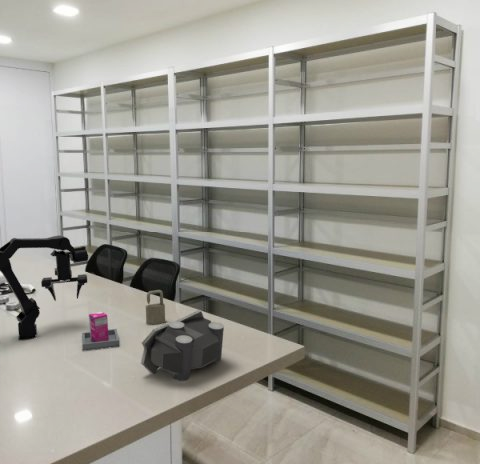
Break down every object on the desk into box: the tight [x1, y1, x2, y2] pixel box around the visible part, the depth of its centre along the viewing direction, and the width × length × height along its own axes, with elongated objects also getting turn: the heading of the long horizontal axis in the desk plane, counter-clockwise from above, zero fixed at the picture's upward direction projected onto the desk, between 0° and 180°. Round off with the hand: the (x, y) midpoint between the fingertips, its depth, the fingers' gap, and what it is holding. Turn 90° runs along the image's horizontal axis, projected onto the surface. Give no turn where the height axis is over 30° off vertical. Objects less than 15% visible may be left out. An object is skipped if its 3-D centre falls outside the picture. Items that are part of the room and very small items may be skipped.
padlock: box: [145, 289, 166, 326], centre depth 228 cm, size 4×8×15 cm, turn 116°
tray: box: [81, 328, 120, 351], centre depth 206 cm, size 14×14×3 cm
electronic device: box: [140, 309, 225, 382], centre depth 180 cm, size 18×21×30 cm
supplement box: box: [88, 310, 109, 342], centre depth 205 cm, size 6×6×12 cm
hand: (66, 299), depth 221 cm, fingers open, 9 cm apart
